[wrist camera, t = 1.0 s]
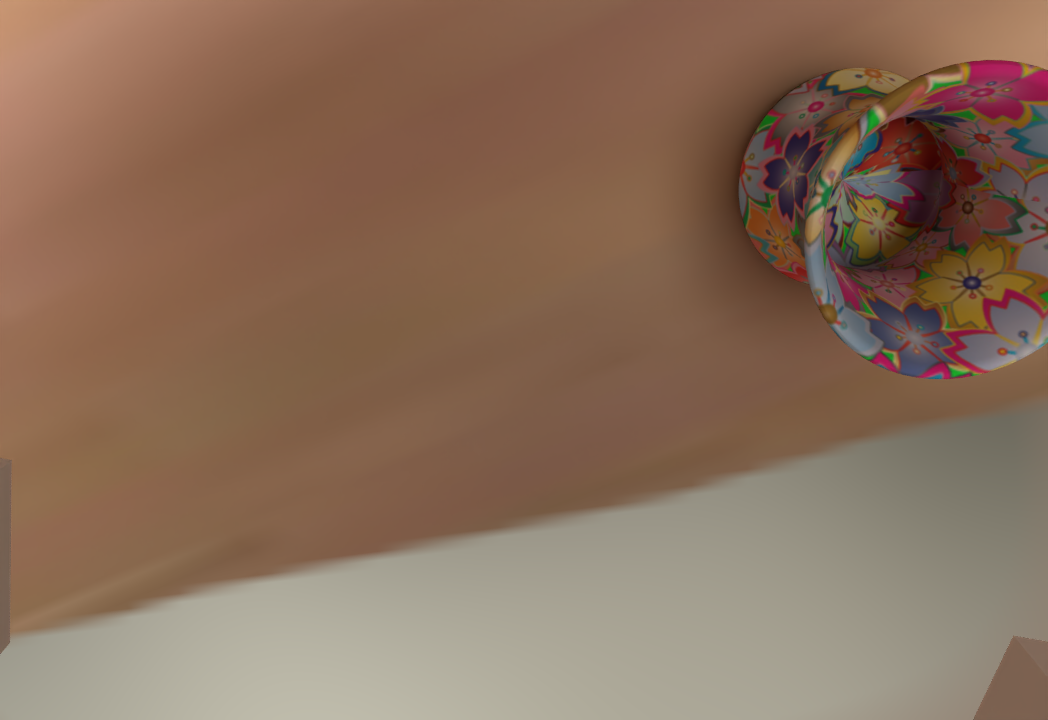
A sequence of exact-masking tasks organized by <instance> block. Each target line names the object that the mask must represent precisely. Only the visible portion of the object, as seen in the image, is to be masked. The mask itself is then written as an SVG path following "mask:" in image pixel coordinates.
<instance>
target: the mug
mask: <svg viewBox="0 0 1048 720" xmlns="http://www.w3.org/2000/svg"><path fill="white" fill-rule="evenodd" d="M739 203H740V210H741V215H742V219H743V222H744V225H745V228H746V230H747V233H748V235H749V237H750V239H751V241H752V242H753V244H754V246H755V247H756V249H757V250H758V251H759V253H760V254H761V255H762V256H763V257H764V258H765V260H766V261H768V262H769V263H770V264H771V265H772V266H773V267H774V268H776V269H777V270H779V271H780V272H781V273H783V274H785V275H787V276H788V277H790V278H793V279H795V280H797V281H800V282H803V283H806V284H809V285H810V288H811V291H812V294H813V296H814V299H815V301H816V304H817V306H818V308H819V310H820V311H821V313H822V315H823V317H824V319H825V320H826V321H827V323H828V324H829V326H830V327H831V328H832V330H833V331H834V332H835V333H836V334H837V335H838V337H839V338H840V339H841V340H842V341H843V342H844V343H846V344H847V345H848V346H849V347H850V348H851V349H852V350H854V351H855V352H856V353H858V354H859V355H860V356H862V357H863V358H865V359H867V360H868V361H870V362H872V363H874V364H875V365H878V366H880V367H882V368H885V369H887V370H890V371H893V372H896V373H899V374H902V375H907V376H912V377H918V378H927V379H953V378H963V377H969V376H975V375H979V374H983V373H987V372H991V371H993V370H996V369H999V368H1002V367H1005V366H1007V365H1009V364H1012V363H1014V362H1016V361H1018V360H1020V359H1022V358H1024V357H1026V356H1028V355H1029V354H1031V353H1033V352H1035V351H1036V350H1038V349H1039V348H1041V347H1042V346H1044V345H1045V344H1047V343H1048V70H1045V69H1043V68H1040V67H1037V66H1033V65H1029V64H1025V63H1020V62H1012V61H1003V60H983V61H971V62H965V63H960V64H954V65H950V66H947V67H943V68H940V69H937V70H934V71H931V72H929V73H926V74H924V75H921V76H919V77H917V78H915V79H913V80H911V81H910V80H908V79H906V78H904V77H902V76H900V75H897V74H894V73H892V72H888V71H884V70H880V69H872V68H849V69H842V70H837V71H833V72H830V73H826V74H823V75H821V76H818V77H816V78H813V79H811V80H809V81H807V82H805V83H803V84H802V85H800V86H799V87H797V88H796V89H794V90H793V91H791V92H790V93H789V94H787V95H786V96H785V97H783V98H782V99H781V100H780V101H779V102H778V103H777V104H776V105H775V106H774V107H773V108H772V109H771V110H770V111H769V112H768V114H767V115H766V116H765V117H764V119H763V120H762V121H761V123H760V124H759V126H758V128H757V129H756V131H755V132H754V134H753V136H752V138H751V140H750V142H749V144H748V147H747V149H746V152H745V155H744V158H743V162H742V166H741V171H740V178H739Z"/></svg>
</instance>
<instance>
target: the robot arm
mask: <svg viewBox="0 0 1048 720" xmlns="http://www.w3.org/2000/svg"><path fill="white" fill-rule="evenodd" d="M11 463H12V460H8V459H2V458H0V654H1V653H2V651H3V650H4V649H5V648H6V647H7V645H8V644H9V643H10V567H11ZM973 720H1048V642H1046V641H1041V640H1035V639H1029V638H1024V637H1018V636H1013V638H1012V640H1011V642H1010V644H1009V646H1008V648H1007V650H1006V652H1005V654H1004V656H1003V659H1002V661H1001V663H1000V665H999V667H998V669H997V671H996V673H995V675H994V677H993V679H992V681H991V684H990V686H989V688H988V690H987V692H986V694H985V696H984V698H983V700H982V702H981V705H980V707H979V709H978V711H977V713H976V715H975V717H974V719H973Z"/></svg>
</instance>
